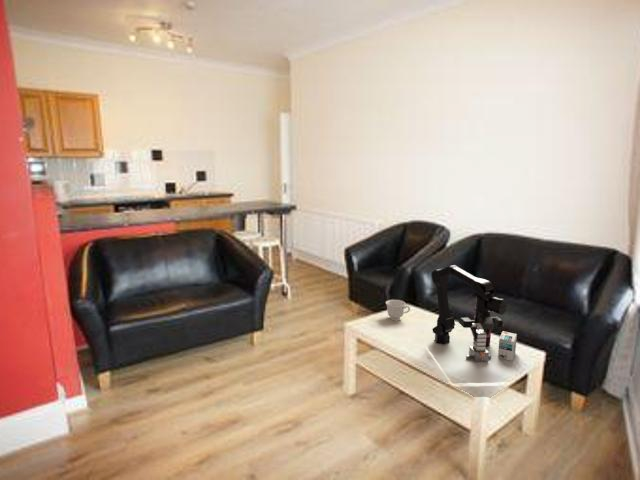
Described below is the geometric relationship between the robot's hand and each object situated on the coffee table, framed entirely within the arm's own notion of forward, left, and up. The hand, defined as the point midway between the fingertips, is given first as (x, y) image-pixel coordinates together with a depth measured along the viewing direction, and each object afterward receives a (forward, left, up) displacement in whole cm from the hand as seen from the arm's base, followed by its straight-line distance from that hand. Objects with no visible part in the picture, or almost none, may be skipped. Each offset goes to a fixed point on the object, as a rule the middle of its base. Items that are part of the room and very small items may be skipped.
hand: (479, 339), depth 185 cm
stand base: (0, 0, -11) cm, 11 cm away
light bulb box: (+15, +3, -11) cm, 19 cm away
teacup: (-26, +53, -11) cm, 60 cm away
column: (0, 0, -6) cm, 6 cm away
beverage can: (+9, +15, -11) cm, 21 cm away
